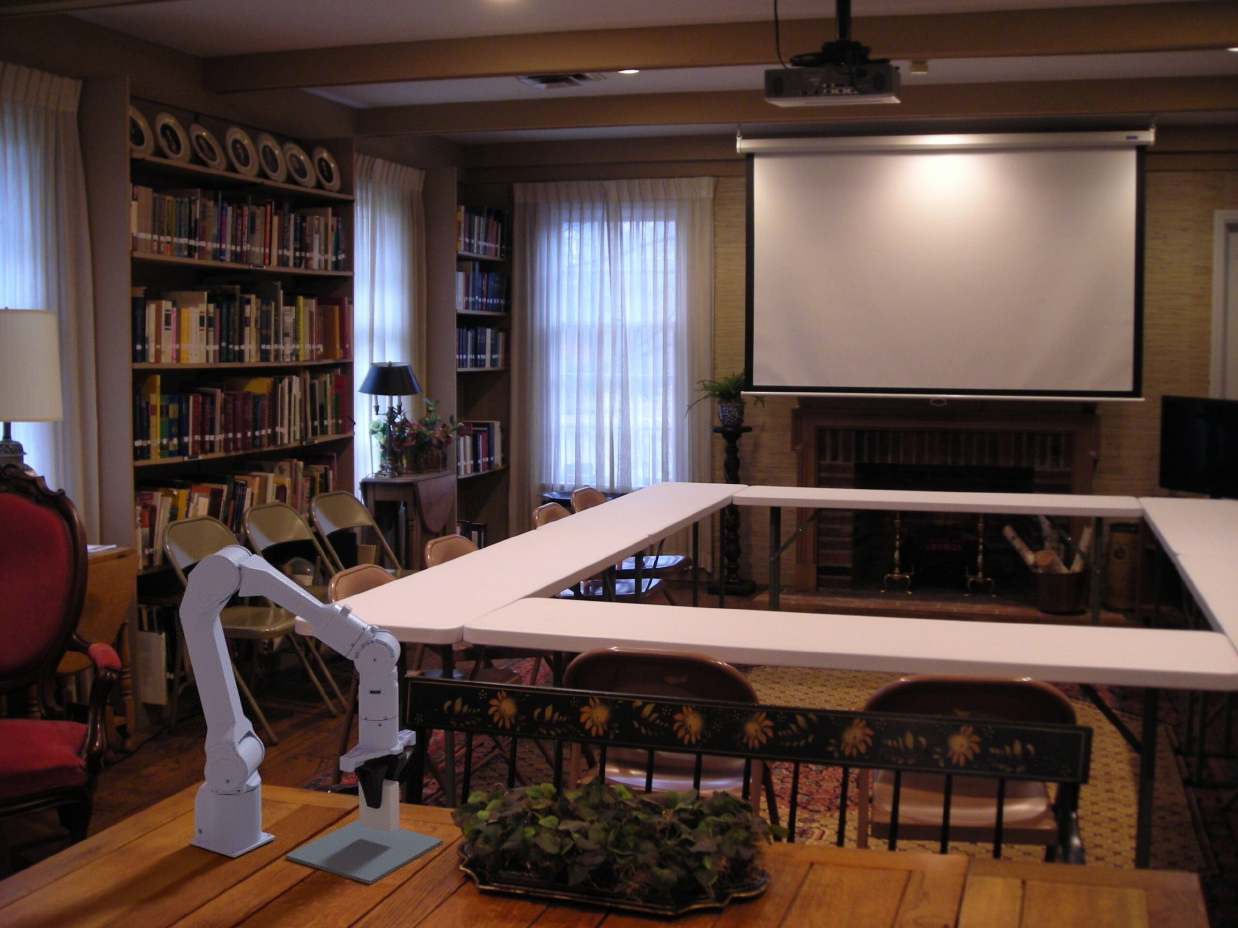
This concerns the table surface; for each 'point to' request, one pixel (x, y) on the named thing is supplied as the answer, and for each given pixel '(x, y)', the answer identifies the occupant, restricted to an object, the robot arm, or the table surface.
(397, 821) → the block
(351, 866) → the mat
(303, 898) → the table surface
